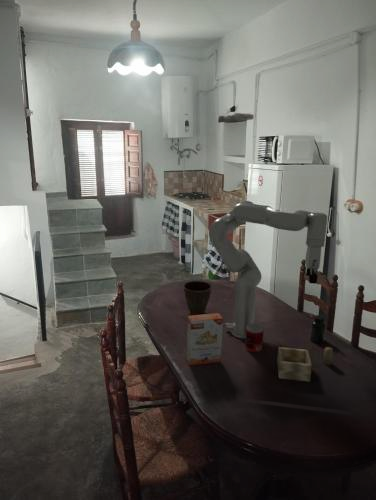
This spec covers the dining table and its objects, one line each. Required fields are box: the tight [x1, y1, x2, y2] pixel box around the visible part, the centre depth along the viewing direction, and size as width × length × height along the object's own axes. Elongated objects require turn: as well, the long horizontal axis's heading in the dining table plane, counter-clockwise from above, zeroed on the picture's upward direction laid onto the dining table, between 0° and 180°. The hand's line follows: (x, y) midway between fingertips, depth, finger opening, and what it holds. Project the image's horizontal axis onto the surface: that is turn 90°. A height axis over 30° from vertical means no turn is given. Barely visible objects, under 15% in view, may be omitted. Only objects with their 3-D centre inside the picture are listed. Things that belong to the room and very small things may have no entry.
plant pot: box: [183, 280, 212, 315], centre depth 210 cm, size 15×15×16 cm
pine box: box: [276, 346, 313, 382], centre depth 157 cm, size 12×12×8 cm
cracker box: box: [186, 312, 224, 367], centre depth 163 cm, size 14×6×21 cm, turn 104°
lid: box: [322, 346, 334, 366], centre depth 163 cm, size 13×13×8 cm
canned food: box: [244, 323, 264, 353], centre depth 174 cm, size 8×8×11 cm
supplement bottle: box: [309, 314, 327, 344], centre depth 183 cm, size 7×7×12 cm
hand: (311, 279), depth 169 cm, fingers open, 9 cm apart
